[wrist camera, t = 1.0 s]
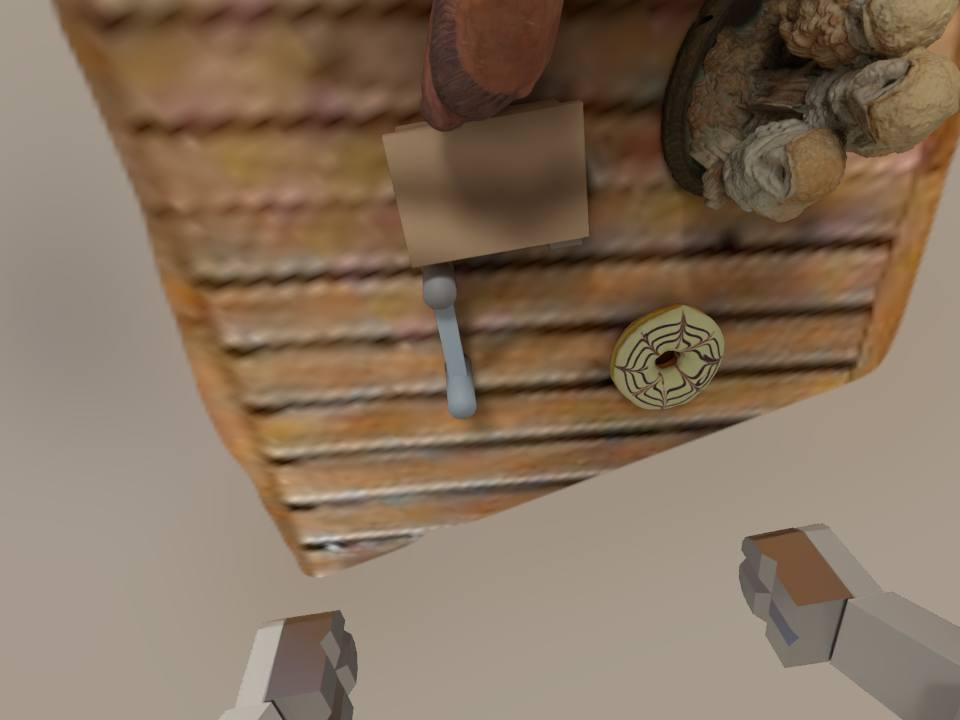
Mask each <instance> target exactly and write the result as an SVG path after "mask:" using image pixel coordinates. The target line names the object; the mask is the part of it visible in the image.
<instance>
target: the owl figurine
mask: <svg viewBox="0 0 960 720" xmlns="http://www.w3.org/2000/svg"><path fill="white" fill-rule="evenodd" d="M958 2H959V0H709V1H708V2H707V3H706V4H705V5H704V7H702V10H701V11H700V12H699V13H700V14H701V16H702V17H706V16H709V15H713V19H711V20H710V21H708V22H706V23H704V24H701V25H699V22H695V23H694V24H692V27H691V28H690V30H689V31H688V33H687V35H686V37H685V39H684V41H683V43H682V46H681V48H680V50H679V52H678V54H677V57H676V62H675V63H674V66H673V69H672V74H671V76H670V79H669V83H668V86H667V88H666V94H665V95H666V96H665V99H664V100H665V101H664V105H663V115H662V122H661V123H662V126H661V129H662V135H661V136H662V143H663V149H664V151H663V152H664V157H665V161H667V163H668V166H669V168H670V170H671V172H672V177H673V178H674V179H675V181H676V182H677V183H678V184H679V185H680V186H682V187H683V188H684V189H685V190H687V191H689V192H691V193H693V194H694V195H698V196H703V197H705V198H706V201H704V204H705V205H706V206H707V207H709V208H710V209H711V210H712V211H716V210H718V209H720V208H721V207H722V206H724V205H725V204H726V203H727V202H728V201H729V200H730V199H734V201H735V203H737V204H739V207H740V208H741V209H742V210H744V211H746V212H752V211H753V212H754V213H755V214H756V215H759V216H761V217H766V218H771V219H773V220H774V221H776V222H785V221H788V220H790V219H793V218H796V217H797V216H798V215H800V214H801V213H802V212H803V210H804V209H805V208H806V207H808V206H810V205H811V204H813V203H814V202H817V201H820V200H821V199H822V198H824V197H825V196H827V195H828V194H830V193H831V192H833V191H834V190H835V189H836V187H837V186H838V185H839V184H840V182H839V180H840V179H841V178H842V177H843V175H844V170H845V166H846V165H845V163H846V159H847V156H846V151H847V152H854V153H856V154H859V155H860V156H863V157H866V158H868V157H876V156H880V157H881V156H886V155H888V154H890V153H893V152H896V153H898V154H899V153H904V152H906V151H909V150H911V149H913V147H914V146H915V145H917V144H918V143H920V142H921V141H923V140H924V139H925V138H926V137H927V136H928V135H929V134H931V133H932V132H933V131H935V130H936V129H938V128H939V127H940V126H941V125H942V124H943V122H944V121H945V120H946V119H947V118H948V117H950V116H951V115H953V114H955V113H956V112H957V111H958V109H959V97H960V94H959V92H960V71H959V70H958V68H957V66H956V64H955V63H954V62H952V61H950V60H949V59H947V58H946V57H944V56H940V55H936V54H934V53H930V52H929V51H927V47H929V45H930V44H932V43H934V42H935V41H936V40H938V39H939V38H940V37H941V36H942V34H943V33H944V31H945V29H946V26H947V24H948V22H949V21H950V20H951V18H952V17H953V15H954V13H955V10H956V8H957V5H958Z"/></svg>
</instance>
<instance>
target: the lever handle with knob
mask: <svg viewBox="0 0 960 720" xmlns="http://www.w3.org/2000/svg"><path fill="white" fill-rule="evenodd" d="M456 296H457V292H456V284H455V276H454V271H453V269H452V268H451V266H450V265H448V264H447V263H445V262H442V263H436V264H431V265H427V266H426V268H425V269H424V272H423V298H424V301H425V302H426V304H427V305H428V306H430V307H431V308H433V309H434V310H435V315H436V320H437V324H438V329H439V333H440V338H441V342H442V347H443V352H444V356H445V371H446V383H447V398H448V410H449V413H450V414H451V415H452V416H453V417H455V418H458V419H466V418H469V417H471V416H472V415H473V414H474V413H475V411H476V408H477V406H476V399H475V392H474V385H473V377H472V370H471V368H472V367H471V361H470V359H469V358H468V357H467V356H466V355H464V353H463V348H462V343H461V338H460V333H459V328H458V323H457V318H456V313H455V307H454V302H455V300H456Z"/></svg>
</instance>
